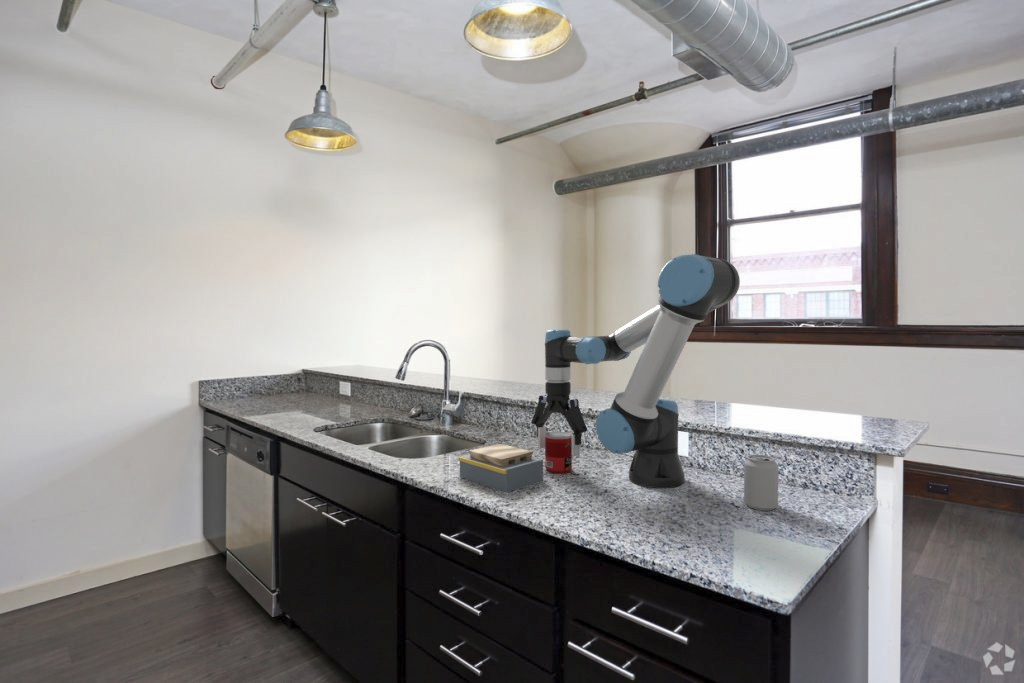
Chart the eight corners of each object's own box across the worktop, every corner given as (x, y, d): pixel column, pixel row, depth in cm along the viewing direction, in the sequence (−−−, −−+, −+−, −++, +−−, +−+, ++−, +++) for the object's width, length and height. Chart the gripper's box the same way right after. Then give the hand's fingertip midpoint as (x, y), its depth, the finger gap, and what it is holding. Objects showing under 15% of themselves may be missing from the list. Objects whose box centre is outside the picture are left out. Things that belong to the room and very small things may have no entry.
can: (776, 514, 123) (776, 462, 122) (741, 508, 127) (741, 458, 126) (779, 504, 129) (780, 455, 129) (746, 499, 133) (746, 451, 133)
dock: (543, 480, 150) (543, 459, 150) (505, 492, 140) (504, 470, 140) (495, 467, 164) (495, 448, 164) (458, 477, 154) (458, 456, 154)
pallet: (532, 458, 151) (532, 451, 151) (501, 466, 143) (501, 459, 143) (499, 450, 161) (499, 443, 161) (468, 457, 153) (468, 450, 153)
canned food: (570, 474, 156) (570, 437, 155) (543, 473, 157) (543, 436, 157) (572, 467, 163) (572, 432, 163) (547, 466, 165) (546, 431, 164)
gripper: (599, 383, 153) (599, 456, 154) (536, 377, 171) (537, 443, 172) (582, 385, 148) (582, 461, 149) (520, 379, 166) (520, 446, 167)
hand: (558, 451), depth 160 cm, fingers open, 13 cm apart
